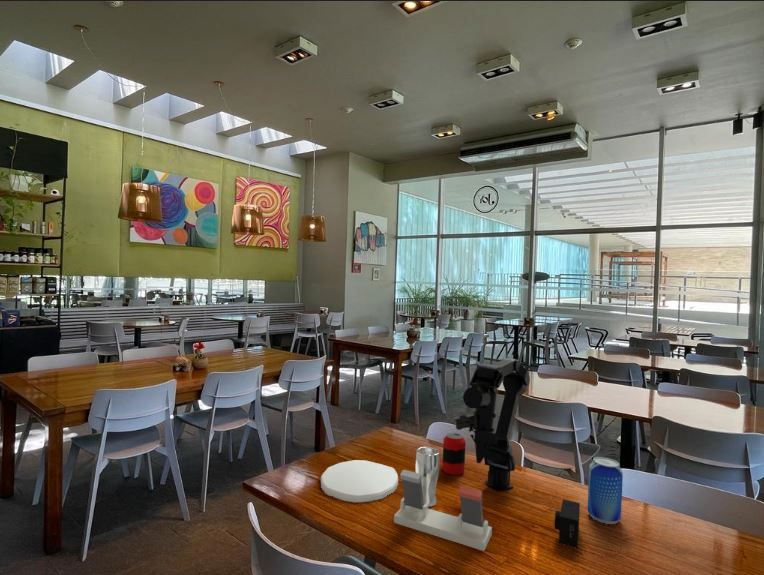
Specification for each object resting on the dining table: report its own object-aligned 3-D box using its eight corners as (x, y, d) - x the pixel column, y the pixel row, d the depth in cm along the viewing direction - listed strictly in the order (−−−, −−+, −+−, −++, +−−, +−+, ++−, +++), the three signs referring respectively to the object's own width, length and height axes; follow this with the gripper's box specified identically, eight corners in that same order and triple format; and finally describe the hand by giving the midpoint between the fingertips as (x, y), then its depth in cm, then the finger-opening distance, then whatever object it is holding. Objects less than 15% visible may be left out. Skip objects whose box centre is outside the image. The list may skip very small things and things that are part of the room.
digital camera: (557, 522, 118) (558, 497, 118) (578, 528, 116) (579, 502, 116) (553, 542, 109) (554, 514, 109) (577, 548, 106) (578, 520, 106)
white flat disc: (348, 449, 154) (411, 466, 142) (347, 461, 154) (410, 478, 142) (303, 475, 132) (373, 497, 120) (303, 488, 132) (373, 512, 120)
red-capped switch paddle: (464, 517, 111) (460, 485, 107) (484, 523, 109) (481, 490, 105) (461, 524, 110) (458, 491, 106) (482, 530, 107) (479, 497, 103)
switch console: (406, 509, 122) (406, 492, 122) (491, 534, 111) (492, 516, 111) (393, 522, 114) (394, 504, 114) (484, 551, 104) (485, 531, 104)
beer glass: (436, 509, 122) (439, 456, 122) (412, 506, 124) (414, 453, 124) (438, 498, 129) (440, 448, 129) (415, 494, 130) (417, 445, 130)
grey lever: (407, 501, 118) (403, 469, 115) (424, 506, 116) (421, 474, 113) (404, 507, 117) (400, 474, 113) (422, 512, 114) (418, 479, 111)
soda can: (467, 469, 150) (469, 435, 150) (459, 477, 144) (460, 441, 144) (447, 464, 154) (449, 430, 154) (438, 471, 148) (440, 436, 148)
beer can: (617, 514, 124) (620, 458, 124) (623, 529, 116) (626, 469, 116) (585, 508, 127) (587, 453, 127) (589, 522, 119) (591, 464, 119)
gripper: (455, 400, 138) (449, 451, 135) (460, 406, 119) (452, 465, 117) (491, 406, 136) (485, 457, 134) (500, 413, 118) (494, 473, 116)
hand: (478, 462), depth 125 cm, fingers closed
